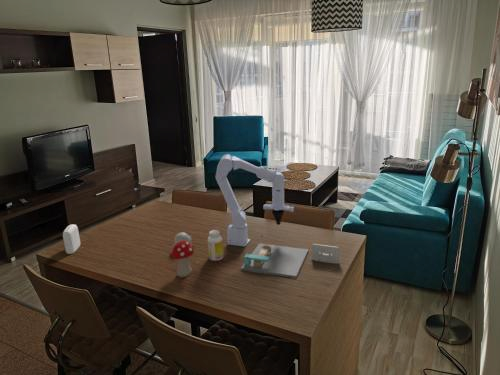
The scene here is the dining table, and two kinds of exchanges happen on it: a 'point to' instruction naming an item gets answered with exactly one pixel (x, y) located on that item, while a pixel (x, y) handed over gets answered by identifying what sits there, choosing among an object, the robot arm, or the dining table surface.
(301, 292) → the dining table surface
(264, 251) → the beech link
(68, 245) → the photo printer
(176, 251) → the decorative mushroom
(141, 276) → the dining table surface
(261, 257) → the plate
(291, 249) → the light grey baseplate
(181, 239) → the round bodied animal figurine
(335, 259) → the cassette
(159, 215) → the dining table surface
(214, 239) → the supplement bottle
